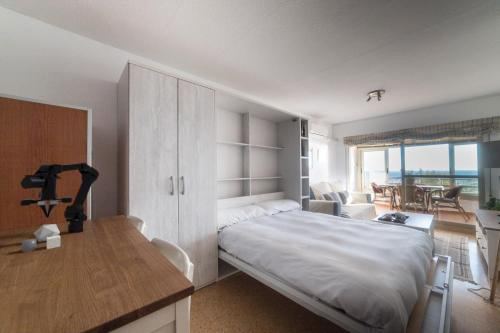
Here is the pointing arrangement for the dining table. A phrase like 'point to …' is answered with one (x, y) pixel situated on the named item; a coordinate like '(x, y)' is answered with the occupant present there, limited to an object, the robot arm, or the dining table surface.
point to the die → (46, 232)
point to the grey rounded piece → (29, 245)
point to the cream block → (53, 242)
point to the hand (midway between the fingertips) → (47, 217)
